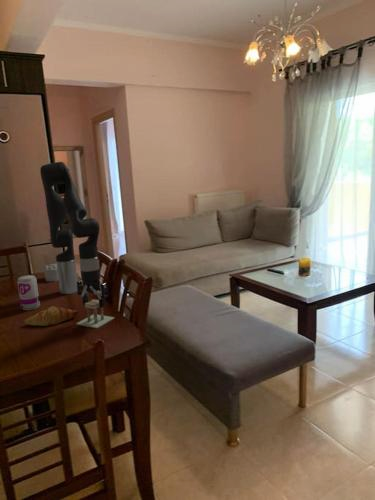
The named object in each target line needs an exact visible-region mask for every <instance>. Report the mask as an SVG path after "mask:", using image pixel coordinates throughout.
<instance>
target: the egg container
mask: <svg viewBox="0 0 375 500" xmlns="http://www.w3.org/2000/svg"><path fill="white" fill-rule="evenodd" d="M43 270H44V278H45V281H46V282H49V281H50V282H52V281H55V282H59V281H58V280H59V278H58V270H57V262H56V263H48V264H47V265H45V266H44V268H43Z"/></svg>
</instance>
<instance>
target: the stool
mask: <svg viewBox="0 0 375 500" xmlns="http://www.w3.org/2000/svg"><path fill="white" fill-rule="evenodd" d="M84 306H85V308H86V316H87V317H86V318H88V322H91V318H90V316H91V312H90V311H91V309H92V311H93V313H92V314H94V319H95V323H98V318H97V315H98V311H97V310H98V308H99V312H100V313H99V315H101V320H104V316H105V314H104V307H103V308H100V306H99V299H91V300H90V301H89V300H88V302H87V303H85V305H84Z"/></svg>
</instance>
